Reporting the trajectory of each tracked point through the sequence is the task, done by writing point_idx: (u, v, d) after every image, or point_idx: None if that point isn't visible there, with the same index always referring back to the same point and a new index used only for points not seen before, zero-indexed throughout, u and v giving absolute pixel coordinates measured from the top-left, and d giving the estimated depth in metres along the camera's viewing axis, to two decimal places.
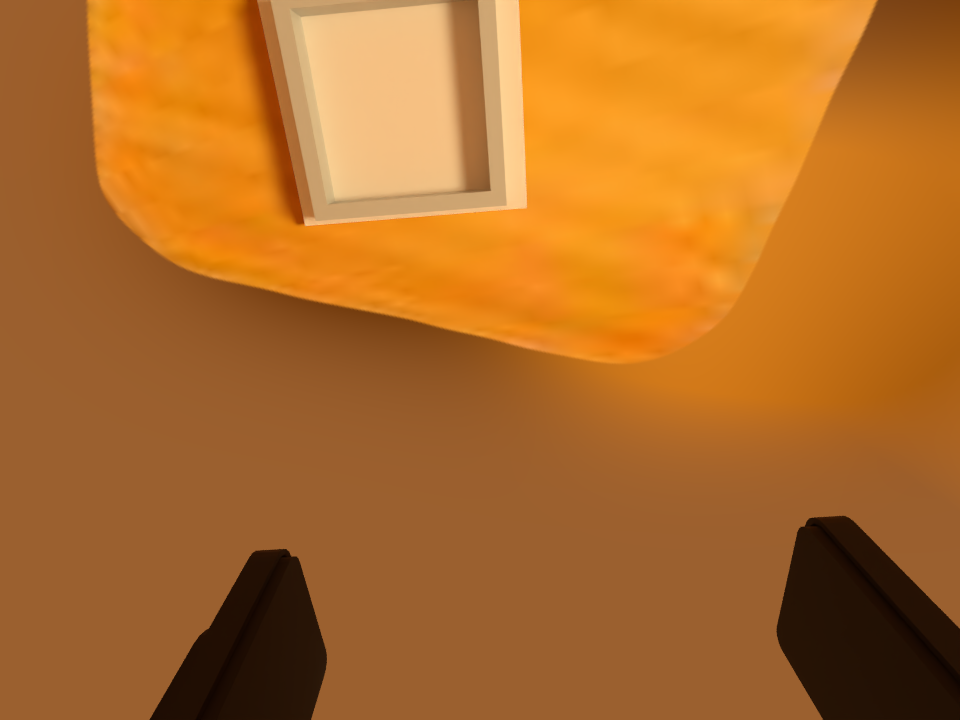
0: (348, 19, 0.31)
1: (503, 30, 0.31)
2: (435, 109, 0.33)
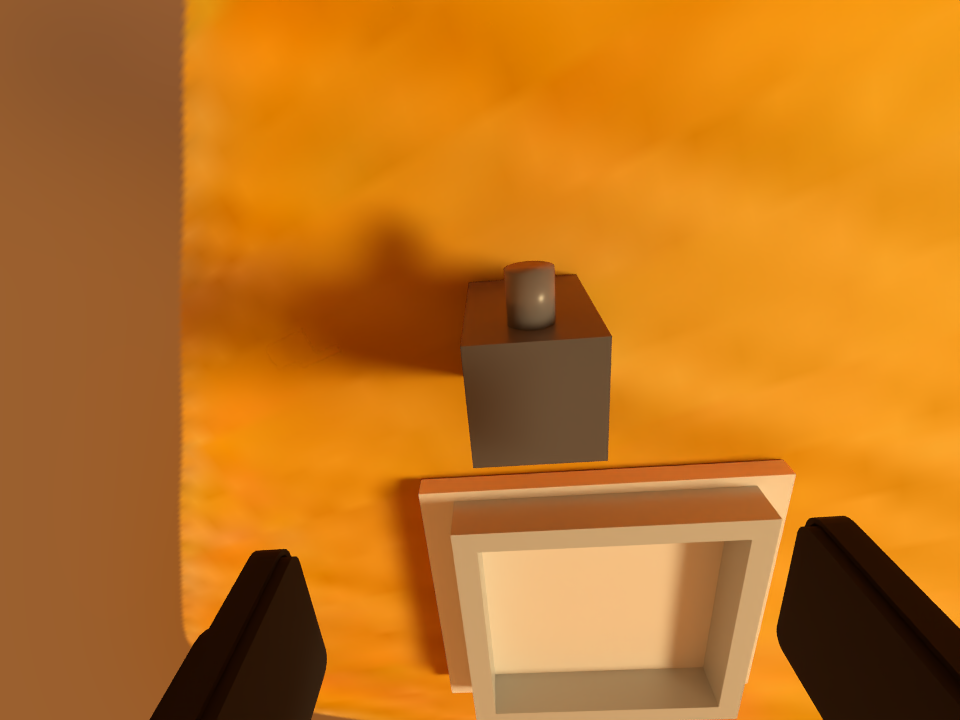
0: None
1: None
2: (646, 600, 0.24)
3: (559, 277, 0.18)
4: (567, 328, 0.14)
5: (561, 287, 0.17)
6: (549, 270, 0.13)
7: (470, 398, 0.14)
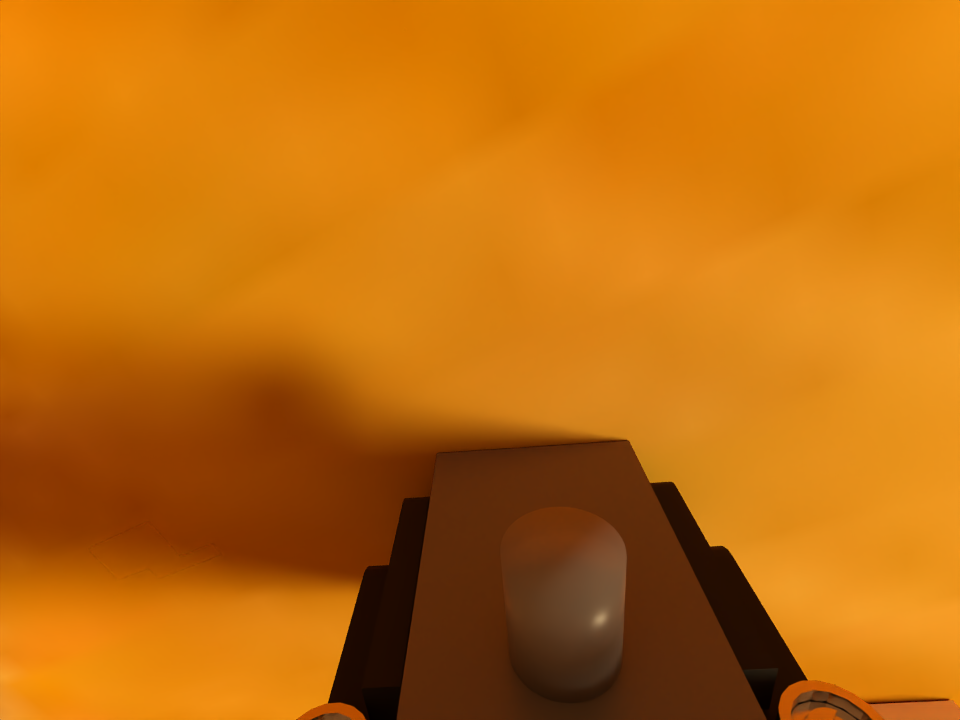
0: None
1: None
2: None
3: (599, 451, 0.10)
4: (659, 702, 0.06)
5: (609, 485, 0.09)
6: (618, 576, 0.05)
7: None
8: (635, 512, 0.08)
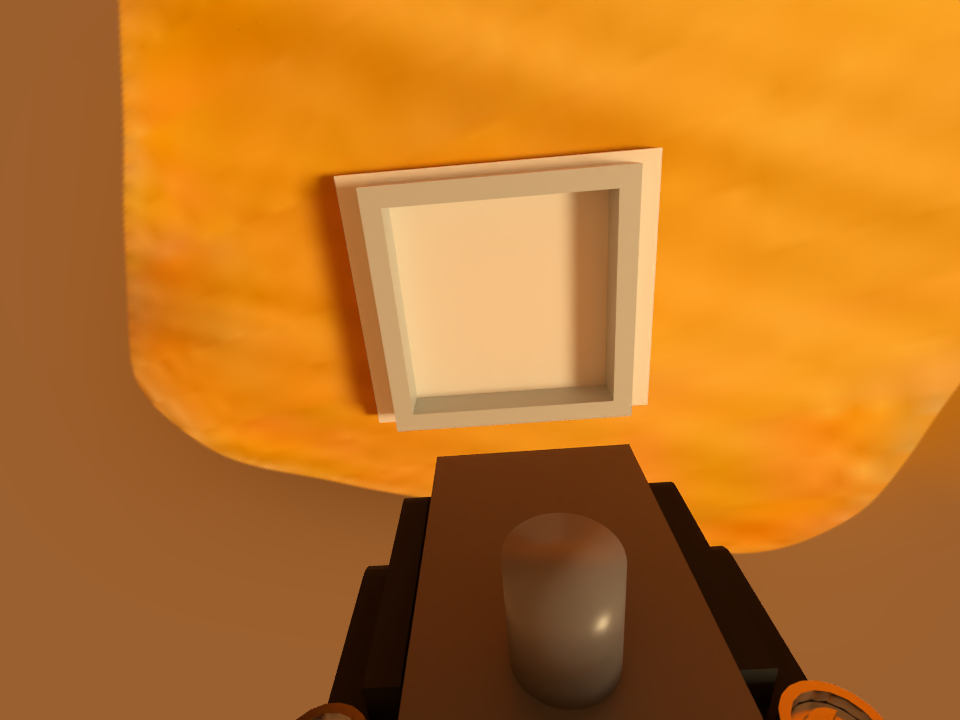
0: (447, 206, 0.25)
1: None
2: (546, 302, 0.27)
3: (599, 455, 0.10)
4: (659, 708, 0.06)
5: (609, 489, 0.09)
6: (618, 583, 0.05)
7: None
8: (635, 516, 0.08)
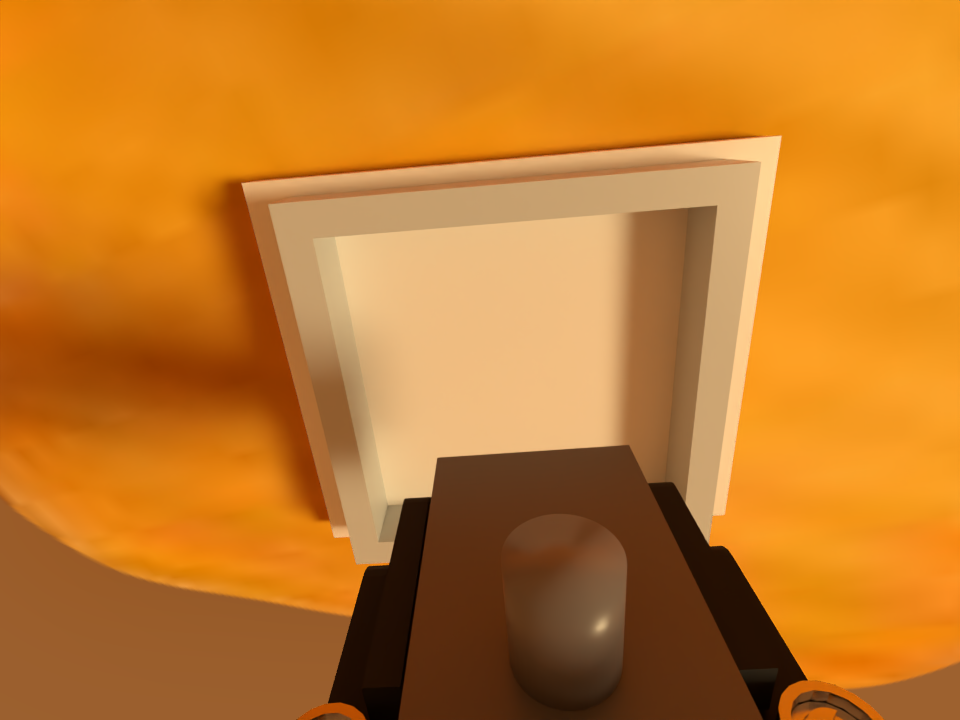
0: (426, 231, 0.16)
1: None
2: (581, 374, 0.18)
3: (599, 456, 0.10)
4: (659, 710, 0.06)
5: (609, 490, 0.09)
6: (618, 584, 0.05)
7: None
8: (635, 517, 0.08)
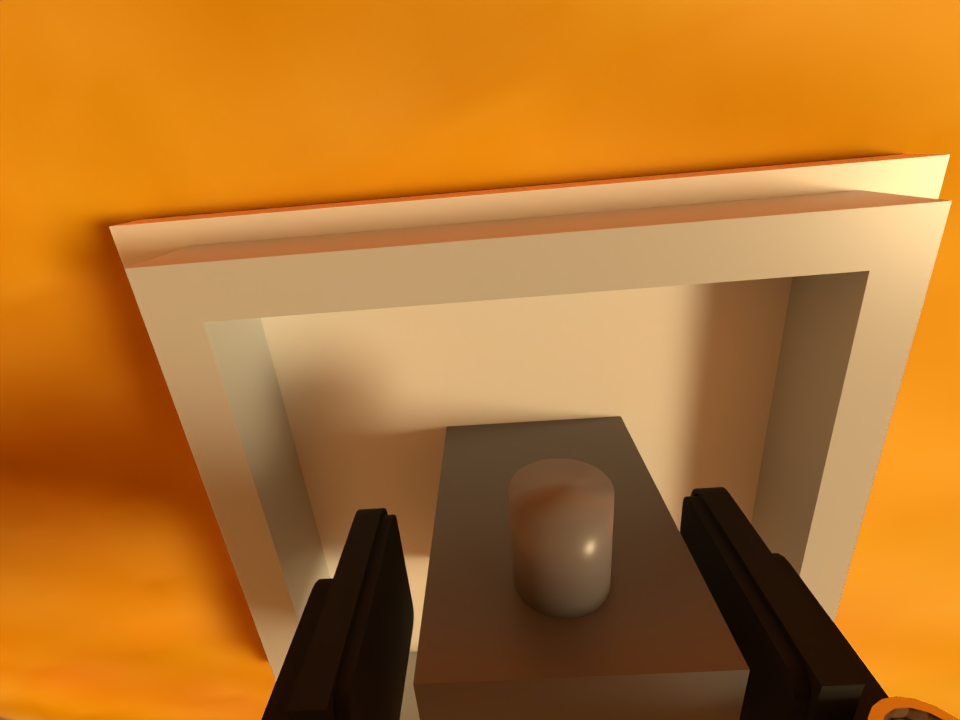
0: None
1: None
2: None
3: (594, 424, 0.11)
4: (641, 617, 0.07)
5: (602, 453, 0.10)
6: (606, 507, 0.06)
7: None
8: (624, 474, 0.09)
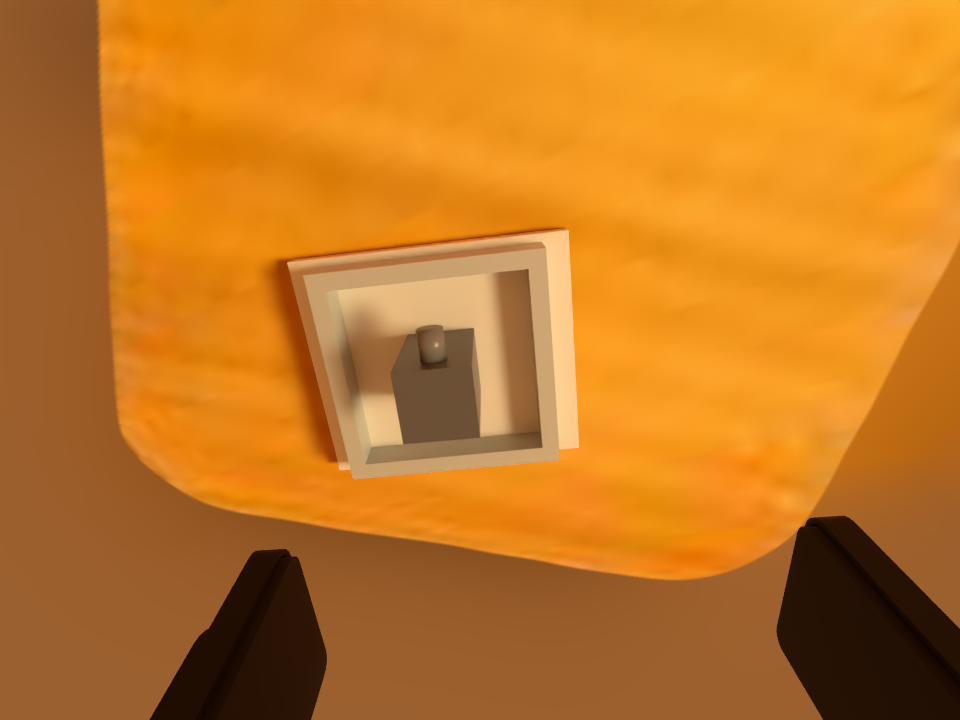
0: None
1: (553, 289, 0.29)
2: (479, 361, 0.30)
3: (462, 330, 0.29)
4: (450, 362, 0.25)
5: (461, 336, 0.28)
6: (438, 330, 0.25)
7: (398, 402, 0.25)
8: (464, 340, 0.28)
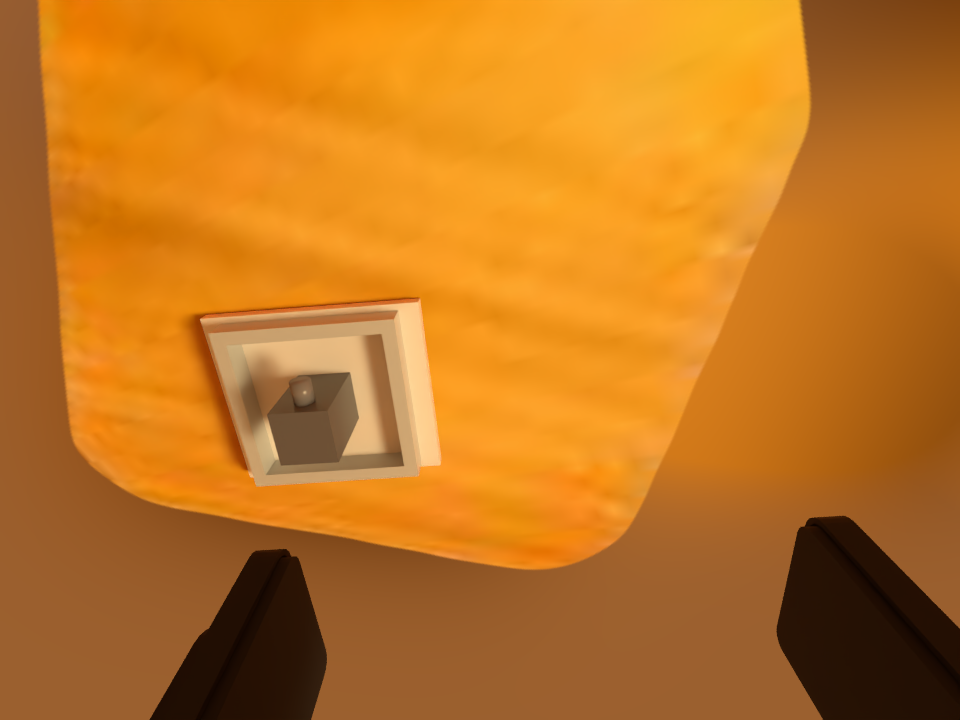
0: None
1: (410, 345, 0.37)
2: (356, 397, 0.39)
3: (340, 374, 0.38)
4: (315, 406, 0.33)
5: (335, 380, 0.36)
6: (305, 383, 0.33)
7: (274, 435, 0.33)
8: (336, 385, 0.36)
